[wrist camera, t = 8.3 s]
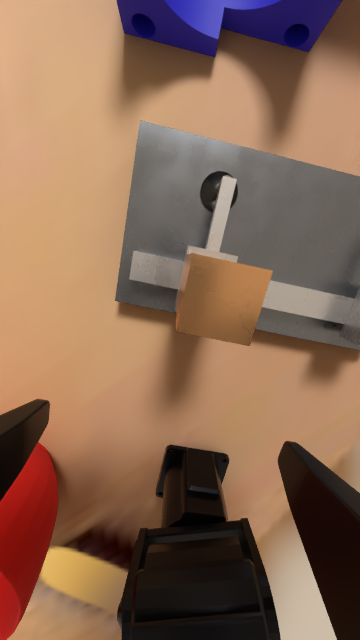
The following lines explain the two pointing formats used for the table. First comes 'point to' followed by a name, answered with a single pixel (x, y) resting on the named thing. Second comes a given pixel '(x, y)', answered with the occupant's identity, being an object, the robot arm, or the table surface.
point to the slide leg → (219, 284)
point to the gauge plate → (246, 230)
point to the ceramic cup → (25, 535)
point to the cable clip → (226, 21)
